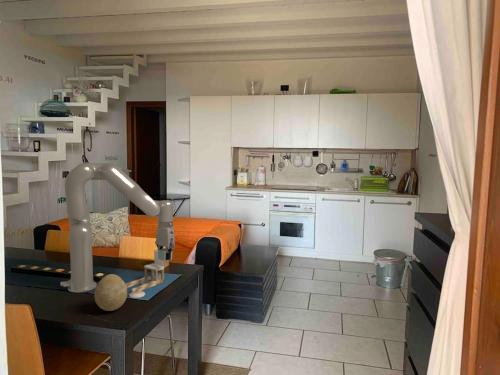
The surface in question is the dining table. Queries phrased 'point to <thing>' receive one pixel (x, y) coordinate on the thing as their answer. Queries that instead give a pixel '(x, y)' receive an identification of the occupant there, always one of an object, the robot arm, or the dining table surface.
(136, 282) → the tunnel
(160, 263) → the small box
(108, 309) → the fossilized egg
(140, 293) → the coaster
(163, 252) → the block
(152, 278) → the push bar
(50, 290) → the dining table surface
